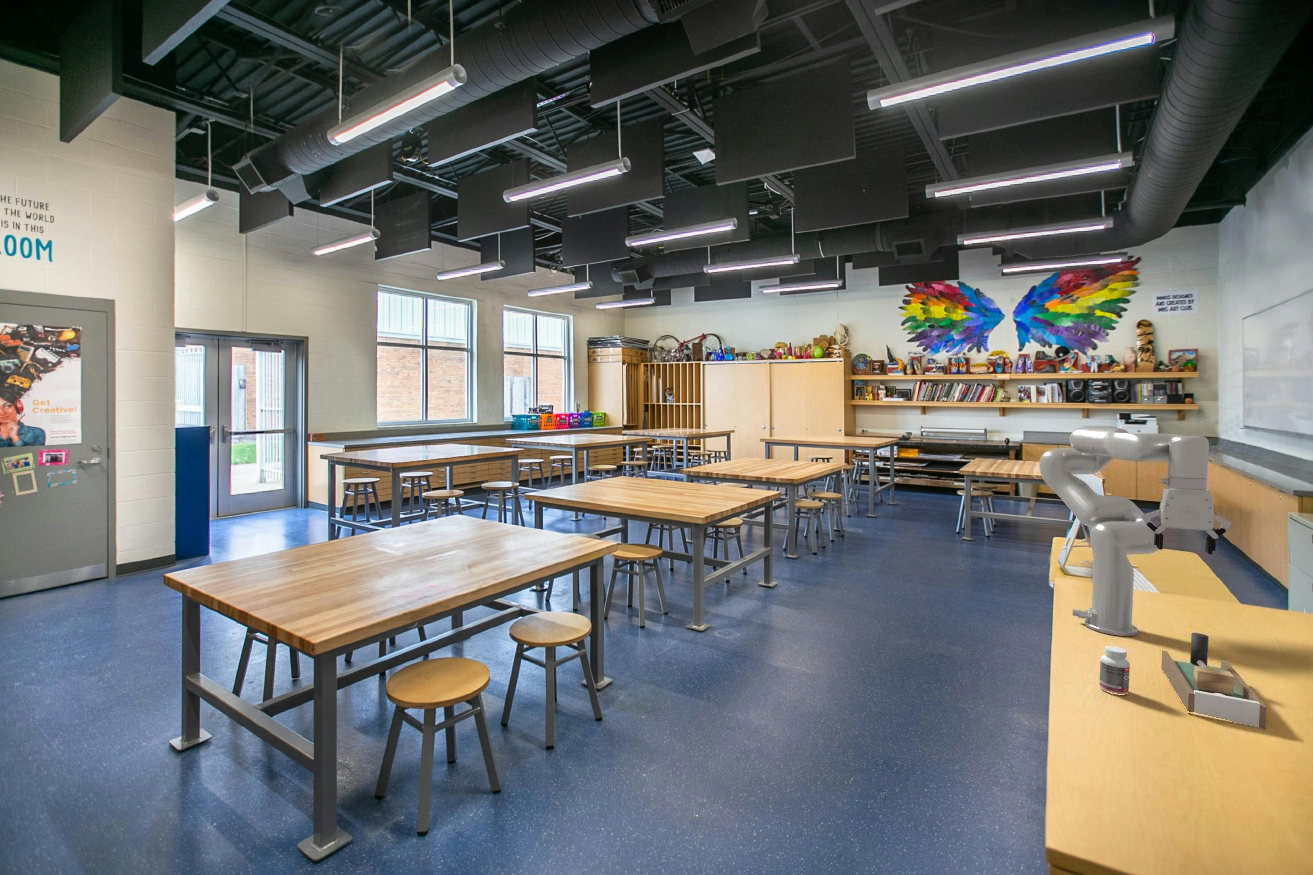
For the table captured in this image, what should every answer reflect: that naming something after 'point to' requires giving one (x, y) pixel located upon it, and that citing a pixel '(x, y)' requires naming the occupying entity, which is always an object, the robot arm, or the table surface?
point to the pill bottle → (1114, 670)
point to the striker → (1203, 674)
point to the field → (1228, 707)
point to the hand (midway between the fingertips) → (1183, 550)
